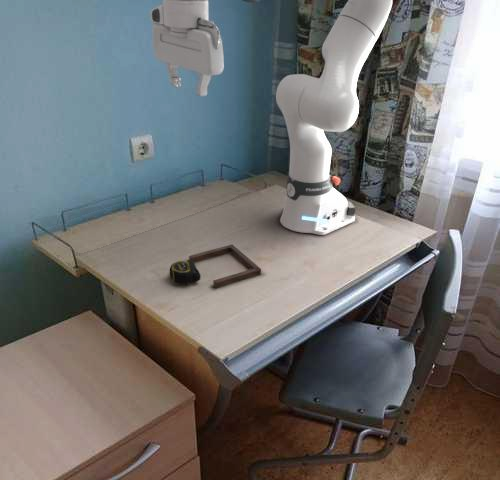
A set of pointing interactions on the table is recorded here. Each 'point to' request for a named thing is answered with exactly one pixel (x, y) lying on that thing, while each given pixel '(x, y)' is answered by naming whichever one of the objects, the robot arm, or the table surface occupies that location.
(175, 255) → the table surface
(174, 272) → the tape measure
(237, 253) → the bay
